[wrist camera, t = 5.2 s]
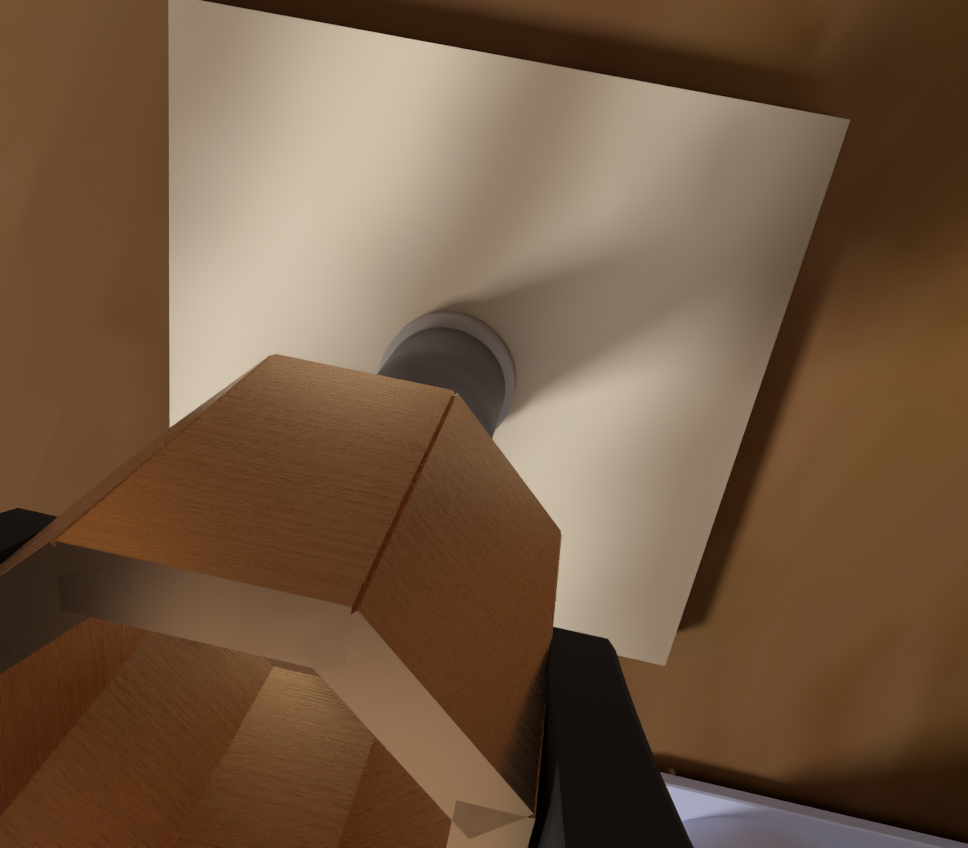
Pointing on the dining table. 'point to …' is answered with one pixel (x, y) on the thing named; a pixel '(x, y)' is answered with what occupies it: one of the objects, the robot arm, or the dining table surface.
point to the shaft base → (498, 266)
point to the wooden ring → (284, 631)
